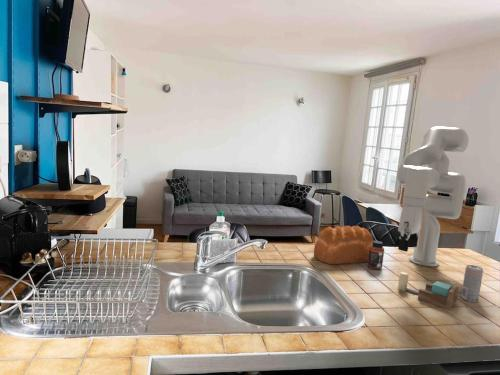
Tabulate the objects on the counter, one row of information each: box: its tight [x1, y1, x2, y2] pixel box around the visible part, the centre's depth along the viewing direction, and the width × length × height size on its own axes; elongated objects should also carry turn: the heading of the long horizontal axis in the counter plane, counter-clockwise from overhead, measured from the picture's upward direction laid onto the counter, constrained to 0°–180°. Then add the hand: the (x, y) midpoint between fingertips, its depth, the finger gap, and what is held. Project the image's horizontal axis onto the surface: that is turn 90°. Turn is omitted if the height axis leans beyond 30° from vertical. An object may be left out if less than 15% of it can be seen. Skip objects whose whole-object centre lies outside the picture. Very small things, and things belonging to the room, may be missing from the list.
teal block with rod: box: [397, 271, 453, 297], centre depth 134 cm, size 17×5×6 cm, turn 49°
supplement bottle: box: [367, 240, 385, 270], centre depth 161 cm, size 6×6×11 cm
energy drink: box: [460, 264, 484, 303], centre depth 134 cm, size 5×5×12 cm
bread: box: [313, 225, 374, 265], centre depth 169 cm, size 14×26×16 cm, turn 113°
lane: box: [417, 282, 460, 310], centre depth 131 cm, size 9×10×6 cm
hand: (407, 248), depth 137 cm, fingers open, 9 cm apart
